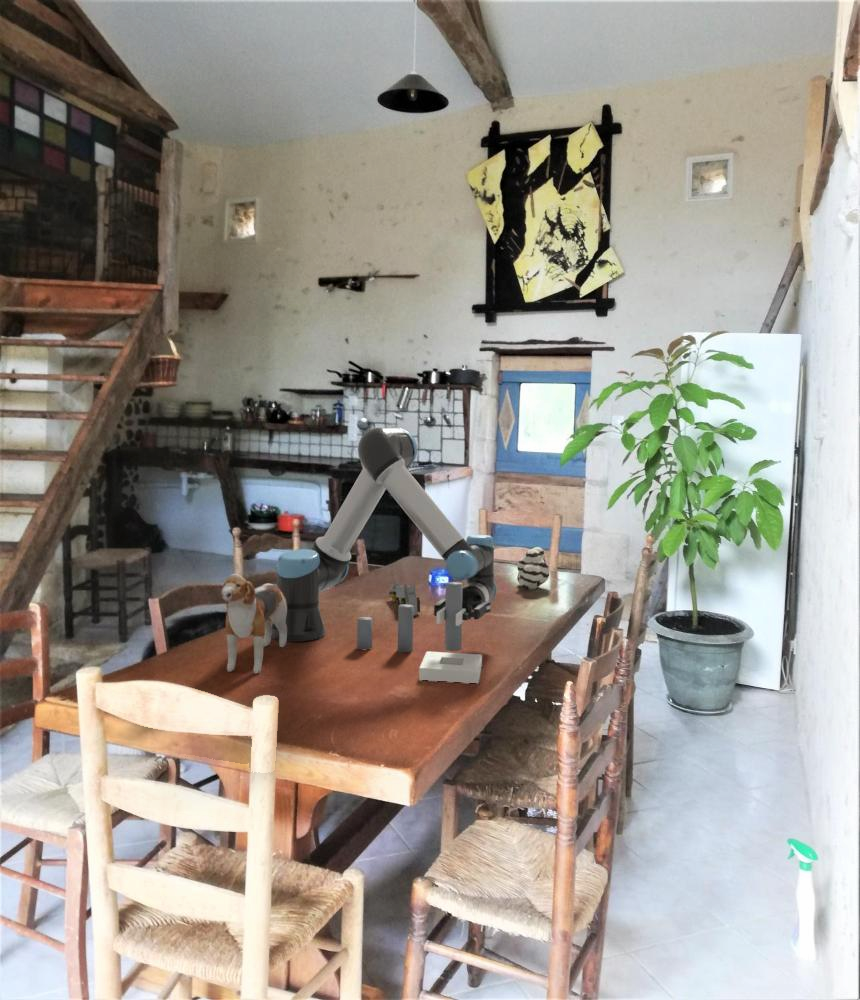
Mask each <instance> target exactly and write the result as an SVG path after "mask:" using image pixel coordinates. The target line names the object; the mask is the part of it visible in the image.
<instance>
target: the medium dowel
mask: <svg viewBox="0 0 860 1000" xmlns="http://www.w3.org/2000/svg"><path fill="white" fill-rule="evenodd" d="M397 611H398V612H397V613H398V614H397V619H398V620H397V621H398V622H397V652H399V653H403V652H408V653H412V652H413V651H412V650H414V649H413V648H414V647H413V645H414V644H413V643H414V615H413V613H414V606H413V605H407V604H404V605H400V604H399V605H398V610H397ZM411 651H412V652H411Z"/></svg>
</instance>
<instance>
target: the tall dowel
mask: <svg viewBox="0 0 860 1000" xmlns="http://www.w3.org/2000/svg"><path fill="white" fill-rule="evenodd" d="M463 585H464V583H462V582H459V581H449V582H446V583H445V599H446V611H445V620H444V631H445V632H444V649H445V650H446V651H450V652H458V651H461V650H462V641H463V640H462V639H463V638H462V637H463V636H462V633H463V622H462V623H461V624H460V625H459V626H456V614H457V613H458V612H459V611H460V610H462V588H463V587H464V586H463Z"/></svg>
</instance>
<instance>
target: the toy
mask: <svg viewBox="0 0 860 1000" xmlns="http://www.w3.org/2000/svg"><path fill="white" fill-rule="evenodd" d="M389 598H391V600H392V601H393V600H394V601H396V602H395V603H399V605H404V604H407V605H413V606H414V613H413V616H418V613H420V612H421V601H420V597H418V596H417V594H416V583H415V582H411V583H410V585H408V583H402V585H401V584H400V582H398V583H396V582H395V583H392V586H390V591H389Z"/></svg>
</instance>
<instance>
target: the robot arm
mask: <svg viewBox="0 0 860 1000" xmlns="http://www.w3.org/2000/svg"><path fill="white" fill-rule="evenodd" d="M357 454H358V458H359V461H360V463H361V468H362V469H361V472H360V473H359V475H358V477H357V478H356V480H355V482H354V484H353V486H352V487H351V489H350V491H348V494H347V496H346V498H345V500H344V501H343V503H342V504H341V506H340V508H339V509H338V511H337V513H336V515H335V517H334V518H333V521H332V522H331V524H330V525H329V527H328V529H327V531H326V532H325V533H324V535H323V536H318V537H317V538H316V539H315V541H314V543H313V544H312V546H311V548H310V549H308V548H305V549H304V548H303V549H302V548H300V549H298V548H297V549H295V550H288V551H285V552H282V553H281V554H280V555H279V557H277V564H276V565H277V566H276V570H275V571H276V587H278V588H279V589H280V590H281V592H283V595H284V597H285V599H286V603H287V615H286V626H287V641H286V642H308V640H309V641H314V639H315V640H319V639H321V638H323V637H324V636H325V631H326V630H325V629H326V627H325V626H326V625H325V624H324V620H323V618H322V614H321V611H320V607H319V606H320V592H322V591H325V590H327V589H331V588H334V587H336V586H338V584H340V583H342V581H343V580H345V578H346V576H347V575H348V572H349V567H350V565H349V563H350V562H351V560H352V554H351V552H350V551H351V549H352V548H353V546H354V544H355V542H356V541H357V539H358V537H359V536H360V534H361V532H362V530H363V529H364V527H365V525H366V523H367V522H368V520H369V519H370V517H371V515H372V513H373V512H374V510H375V508H376V506H377V505H378V503H379V502H380V499H381V498H382V496H383V495H384V493H385V491H388V493H389V494H390V495H391V497H392V498H393V499H394V501H396V503H397V504H398V505H399V507H401V508H402V510H403V511H404V513H405V514H406V515H407V517H409V519H410V520H411V521H412V522H413V523H414V525H415V526H416V527H417V529H419V531H420V532H421V533H422V534H423V536H424V537H425V538H426V540H427V541H428V542H429V544H431V545H432V547H433V548H434V549H435V551H436V552H437V553H438V554H439V556H440V557H441V558H442V559H443V560H444V562H445V569H446V571H447V574H448V575H449V576H450V577H451V578H452V579H454V580H456V581H457V580H458V581H464V580H466V585H464V586H463V587H462V610H460V611H459V612H458V613H457V614H456V626H459V625H460V624H461V623H462V624H463V623H464V622H465V621H469V620H471V619H472V618H473V620H479V619H481V618H482V617H483V616H484V615H486V614H488V613H491V609H492V608H491V607H492V606H491V605H492V604H491V603H492V602H493V601H494V600H495V597H496V596H497V592H498V586H497V584H496V581H495V573H494V572H495V570H494V569H495V547H494V546H495V545H494V544H495V543H494V537H493V536H492V535H488V534H471V535H468V536H467V538H464V537H463V536H462V535H461V533H460V532H459V530H457V528H456V527H455V526H454V524H452V522H451V521H450V519H448V517H447V516H446V515H445V513H444V512H443V511H442V510H441V509H440V508H439V506H438V505H437V504H436V503H435V501H434V500H433V499H432V498H431V496H429V494H428V493H427V492H426V491H425V489H424V488H423V487H422V485H420V483H419V482H418V481H417V480H416V478H415V477H414V476H413V475H412V473H410V471H409V470H408V468H409V467H410V466H411V465H412V464H413V463H414V461H416V458H417V454H418V445H417V442H416V439H415V438H414V435H412V434H411V433H410V432H409V431H408V430H405V429H404V428H400V427H397V426H395V427H394V426H393V427H375V428H371V429H369V430H367V431H366V432H365V433H364V434H363V435H362V436H361V437H360V439H359V441H358V446H357ZM465 539H466V540H465ZM445 611H446V597H445V598H444V597H440V599H439V600H438V602H437V603H435V604H434V605H433V615H434V617H436V625H440V624H442V623H443V622H445ZM271 627H272V634H271V636H272V637H274V638H277V639H279V631H278V629H277V628H276V626H275V624H274V623H273V622H272V623H271ZM272 637H271V638H272ZM274 638H273V639H274ZM277 639H276V640H277Z"/></svg>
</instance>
